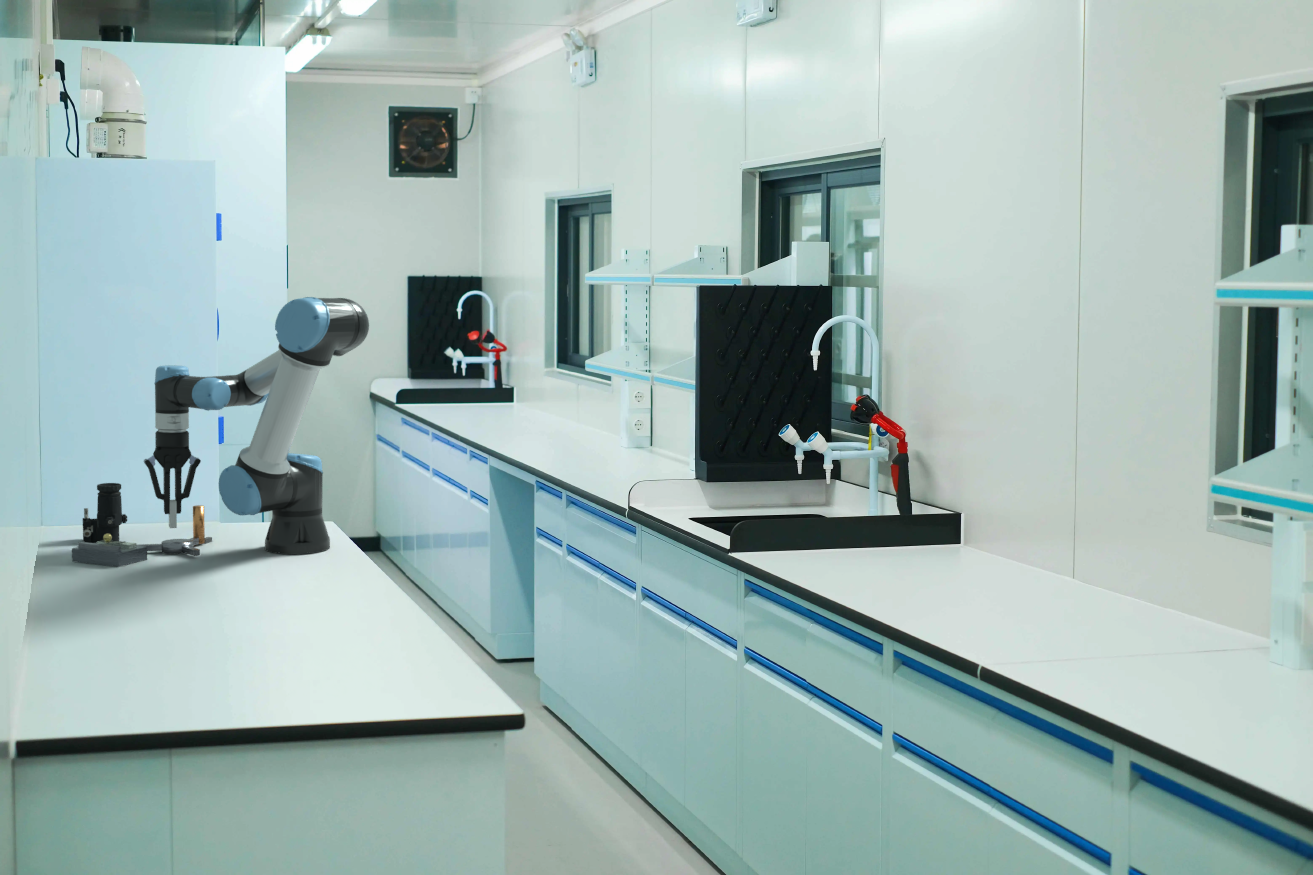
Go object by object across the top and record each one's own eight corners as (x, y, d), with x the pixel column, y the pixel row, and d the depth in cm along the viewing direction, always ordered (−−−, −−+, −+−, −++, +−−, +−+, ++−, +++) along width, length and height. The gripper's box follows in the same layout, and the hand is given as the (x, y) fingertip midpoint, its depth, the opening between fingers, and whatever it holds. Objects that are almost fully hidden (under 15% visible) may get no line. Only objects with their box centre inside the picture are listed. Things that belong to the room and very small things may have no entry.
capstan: (196, 557, 294) (196, 518, 293) (132, 552, 297) (131, 513, 296) (233, 544, 309) (232, 507, 308) (171, 540, 312) (170, 503, 311)
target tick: (205, 543, 311) (205, 539, 311) (201, 543, 312) (201, 539, 311) (212, 541, 314) (212, 537, 314) (207, 540, 314) (207, 536, 314)
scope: (81, 482, 311) (125, 481, 316) (82, 538, 313) (126, 536, 317) (81, 488, 304) (127, 486, 308) (83, 545, 306) (128, 542, 310)
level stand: (147, 559, 292) (146, 535, 291) (118, 567, 283) (118, 542, 283) (101, 554, 296) (101, 530, 296) (72, 561, 288) (71, 537, 287)
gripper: (144, 432, 299) (145, 531, 302) (203, 431, 305) (203, 528, 308) (141, 428, 306) (142, 525, 309) (198, 427, 312) (198, 522, 315)
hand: (172, 526), depth 309 cm, fingers closed
